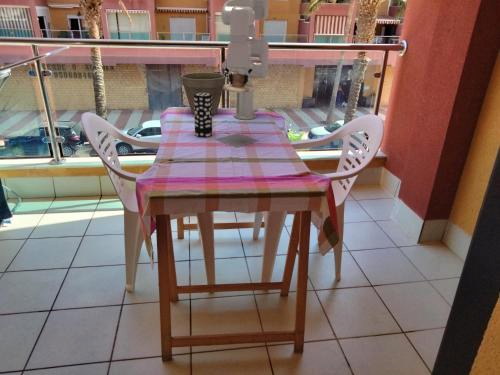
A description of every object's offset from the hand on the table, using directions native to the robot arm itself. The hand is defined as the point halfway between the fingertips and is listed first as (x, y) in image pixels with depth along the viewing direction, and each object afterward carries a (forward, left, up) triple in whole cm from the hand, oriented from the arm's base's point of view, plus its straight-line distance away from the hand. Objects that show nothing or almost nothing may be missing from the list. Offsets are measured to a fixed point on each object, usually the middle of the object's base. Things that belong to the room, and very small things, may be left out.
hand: (238, 83), depth 163 cm
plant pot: (-21, -50, -27) cm, 60 cm away
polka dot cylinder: (+7, -16, -27) cm, 32 cm away
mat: (0, 0, -27) cm, 27 cm away
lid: (0, 0, -3) cm, 2 cm away
